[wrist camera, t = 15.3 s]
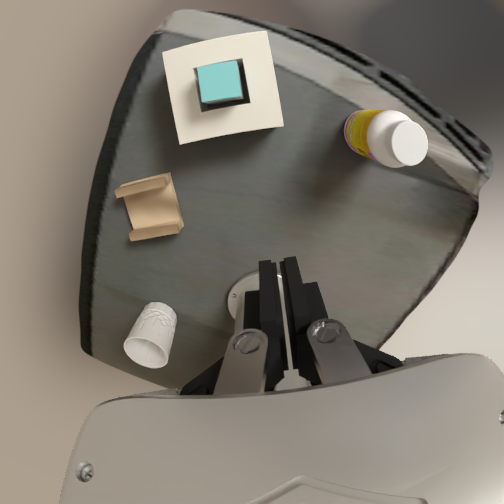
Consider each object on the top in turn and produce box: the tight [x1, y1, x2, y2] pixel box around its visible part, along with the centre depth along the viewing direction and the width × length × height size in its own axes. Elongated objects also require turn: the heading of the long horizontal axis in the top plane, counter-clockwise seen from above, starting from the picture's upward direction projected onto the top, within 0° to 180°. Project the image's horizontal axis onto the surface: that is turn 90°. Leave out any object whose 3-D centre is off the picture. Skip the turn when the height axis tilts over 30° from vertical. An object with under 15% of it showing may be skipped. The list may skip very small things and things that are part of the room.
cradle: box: [114, 172, 184, 241], centre depth 37 cm, size 8×8×3 cm
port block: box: [162, 31, 284, 145], centre depth 28 cm, size 12×12×6 cm
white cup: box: [124, 302, 177, 368], centre depth 45 cm, size 8×8×10 cm
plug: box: [197, 60, 244, 105], centre depth 27 cm, size 4×4×8 cm
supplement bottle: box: [344, 110, 428, 168], centre depth 28 cm, size 7×7×13 cm
